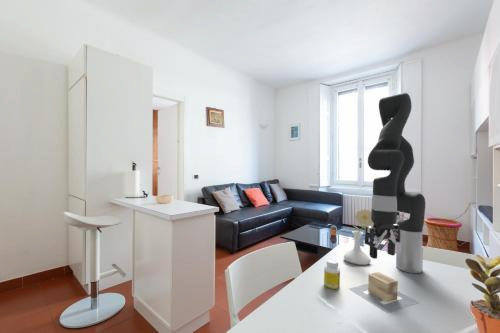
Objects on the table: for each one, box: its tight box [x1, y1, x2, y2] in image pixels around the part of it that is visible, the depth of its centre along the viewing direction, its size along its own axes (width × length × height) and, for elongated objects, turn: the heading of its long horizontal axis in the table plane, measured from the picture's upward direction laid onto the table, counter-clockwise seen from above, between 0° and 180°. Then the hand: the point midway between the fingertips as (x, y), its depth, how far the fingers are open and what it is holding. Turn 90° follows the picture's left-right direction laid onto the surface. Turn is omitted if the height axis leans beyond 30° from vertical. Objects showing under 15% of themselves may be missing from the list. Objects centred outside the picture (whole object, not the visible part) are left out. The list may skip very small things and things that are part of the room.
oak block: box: [367, 271, 399, 302], centre depth 80 cm, size 5×7×6 cm
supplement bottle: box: [323, 258, 341, 291], centre depth 86 cm, size 5×5×10 cm
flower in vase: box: [343, 208, 374, 266], centre depth 109 cm, size 13×11×25 cm
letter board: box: [348, 283, 420, 314], centre depth 80 cm, size 15×15×1 cm
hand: (382, 256), depth 80 cm, fingers open, 8 cm apart
